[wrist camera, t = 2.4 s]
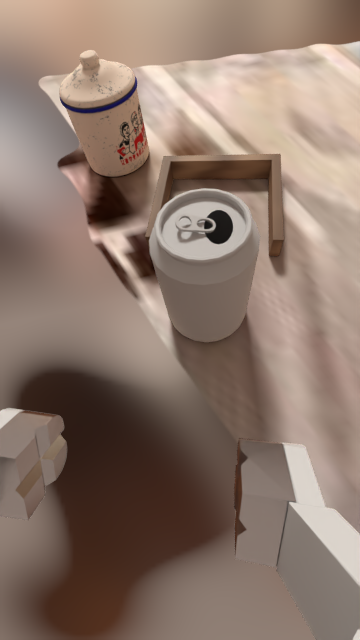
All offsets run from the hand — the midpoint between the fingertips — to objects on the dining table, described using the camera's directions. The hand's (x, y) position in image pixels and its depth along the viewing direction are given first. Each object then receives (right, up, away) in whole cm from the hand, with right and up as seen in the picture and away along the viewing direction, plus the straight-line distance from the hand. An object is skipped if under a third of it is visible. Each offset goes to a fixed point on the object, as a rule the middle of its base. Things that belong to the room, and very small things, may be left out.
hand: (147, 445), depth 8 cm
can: (+4, +4, +21) cm, 22 cm away
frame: (+5, +16, +27) cm, 32 cm away
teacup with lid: (-7, +27, +34) cm, 44 cm away
